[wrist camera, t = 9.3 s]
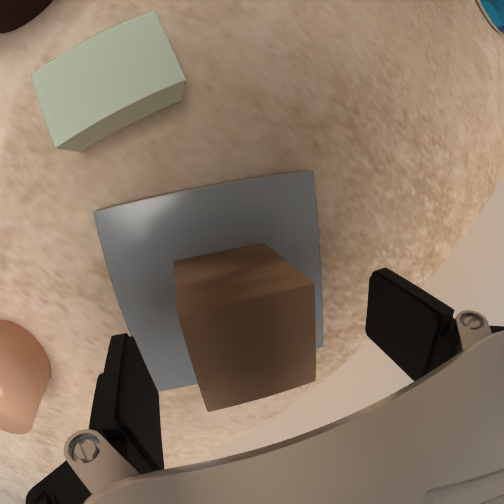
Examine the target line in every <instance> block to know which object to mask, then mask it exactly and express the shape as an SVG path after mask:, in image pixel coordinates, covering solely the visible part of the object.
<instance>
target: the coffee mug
mask: <svg viewBox="0 0 504 504" xmlns="http://www.w3.org/2000/svg"><path fill="white" fill-rule="evenodd" d="M52 1H53V0H0V33H6V32H10V31H13V30H15V29H17V28H19V27H21V26H23V25H25V24H26V23H28V22H29V21H31V20H32V19H34V18H35V17H36V16H37V15H39V14H40V13H41V12H42V11H43V10H44V9H45V8H46V7H47V6H49V4H50V3H51V2H52Z"/></svg>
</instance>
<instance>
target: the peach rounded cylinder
mask: <svg viewBox="0 0 504 504" xmlns="http://www.w3.org/2000/svg"><path fill="white" fill-rule="evenodd" d="M50 375H51V366H50V362H49V359H48V357H47V354H46V352H45V351H44V349H43V347H42V346H41V345H40V343H39V342H38V341H37V340H36V338H35V337H34V336H33V335H32V334H30V333H29V332H28V331H27V330H26V329H24V328H23V327H21V326H20V325H18V324H16V323H13V322H11V321H7V320H0V429H2V430H4V431H6V432H9V433H13V434H25V433H27V432H29V431H30V430H31V428H32V426H33V423H34V420H35V417H36V414H37V411H38V408H39V405H40V402H41V400H42V397H43V394H44V392H45V389H46V386H47V384H48V381H49V379H50Z"/></svg>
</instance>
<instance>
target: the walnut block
mask: <svg viewBox="0 0 504 504" xmlns="http://www.w3.org/2000/svg"><path fill="white" fill-rule="evenodd" d="M173 267H174V280H175V292H176V302H177V312H178V318H179V322H180V325H181V329H182V332H183V336H184V339H185V343H186V346H187V350H188V353H189V356H190V360H191V363H192V366H193V369H194V372H195V376H196V379H197V382H198V385H199V388H200V391H201V394H202V397H203V400H204V402H205V405H206V408H207V411H208V412H209V411H214V410H218V409H223V408H227V407H231V406H235V405H239V404H243V403H246V402H250V401H254V400H257V399H261V398H264V397H268V396H271V395H274V394H277V393H281V392H284V391H287V390H290V389H293V388H296V387H299V386H302V385H305V384H308V383H310V382H313V381H315V377H316V319H315V283H314V282H312V281H311V280H310V279H309V278H308V277H306V276H305V275H304V274H303V273H301V272H300V271H299V270H298V269H296V268H295V267H294V266H293V265H291V264H290V263H289V262H287V261H286V260H285V259H284V258H282V257H281V256H280V255H279V254H277V253H276V252H275V251H274V250H272V249H271V248H270V247H269V246H267V245H266V244H265V243H259V244H254V245H249V246H244V247H239V248H234V249H229V250H224V251H219V252H215V253H210V254H205V255H200V256H195V257H190V258H185V259H180V260H175V261H173Z"/></svg>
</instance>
